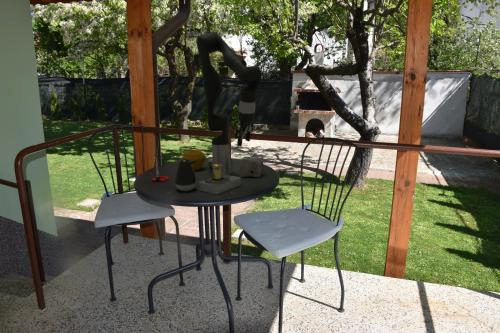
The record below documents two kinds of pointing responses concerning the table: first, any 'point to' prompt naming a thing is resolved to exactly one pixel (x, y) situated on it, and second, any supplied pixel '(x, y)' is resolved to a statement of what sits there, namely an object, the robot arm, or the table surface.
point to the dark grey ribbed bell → (185, 175)
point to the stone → (251, 167)
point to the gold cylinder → (217, 171)
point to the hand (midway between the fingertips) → (243, 143)
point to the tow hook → (157, 178)
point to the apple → (195, 158)
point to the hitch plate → (219, 184)
